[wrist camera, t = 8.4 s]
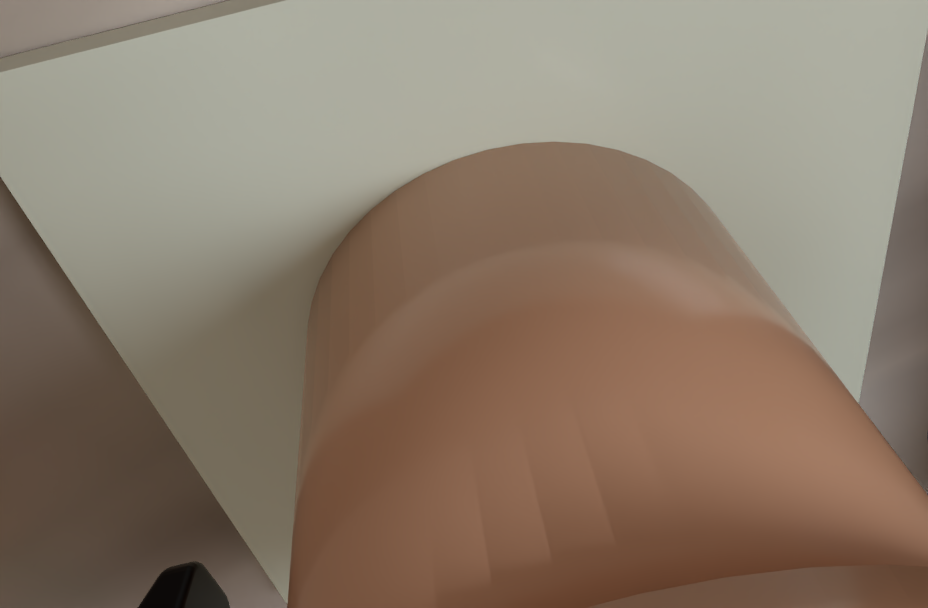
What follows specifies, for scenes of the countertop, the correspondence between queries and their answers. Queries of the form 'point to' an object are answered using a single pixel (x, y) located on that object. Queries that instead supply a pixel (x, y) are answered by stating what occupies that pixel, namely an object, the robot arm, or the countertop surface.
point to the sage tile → (419, 151)
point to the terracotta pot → (580, 410)
